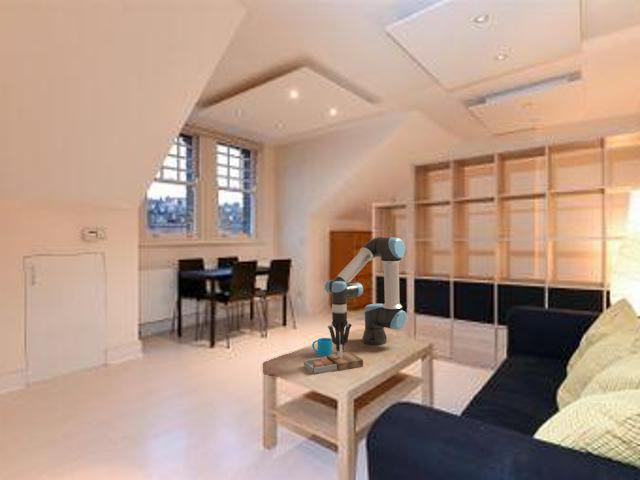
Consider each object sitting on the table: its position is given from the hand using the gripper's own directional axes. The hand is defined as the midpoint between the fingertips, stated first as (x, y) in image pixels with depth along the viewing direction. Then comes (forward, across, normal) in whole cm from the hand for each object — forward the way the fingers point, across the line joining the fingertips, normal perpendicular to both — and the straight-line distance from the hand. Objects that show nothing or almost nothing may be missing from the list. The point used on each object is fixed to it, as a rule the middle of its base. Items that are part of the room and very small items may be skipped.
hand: (340, 356), depth 205 cm
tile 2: (+2, +9, 0) cm, 9 cm away
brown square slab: (+4, -2, 0) cm, 5 cm away
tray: (+4, +11, 0) cm, 12 cm away
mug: (+5, +2, -20) cm, 20 cm away
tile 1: (+1, +12, 0) cm, 12 cm away
